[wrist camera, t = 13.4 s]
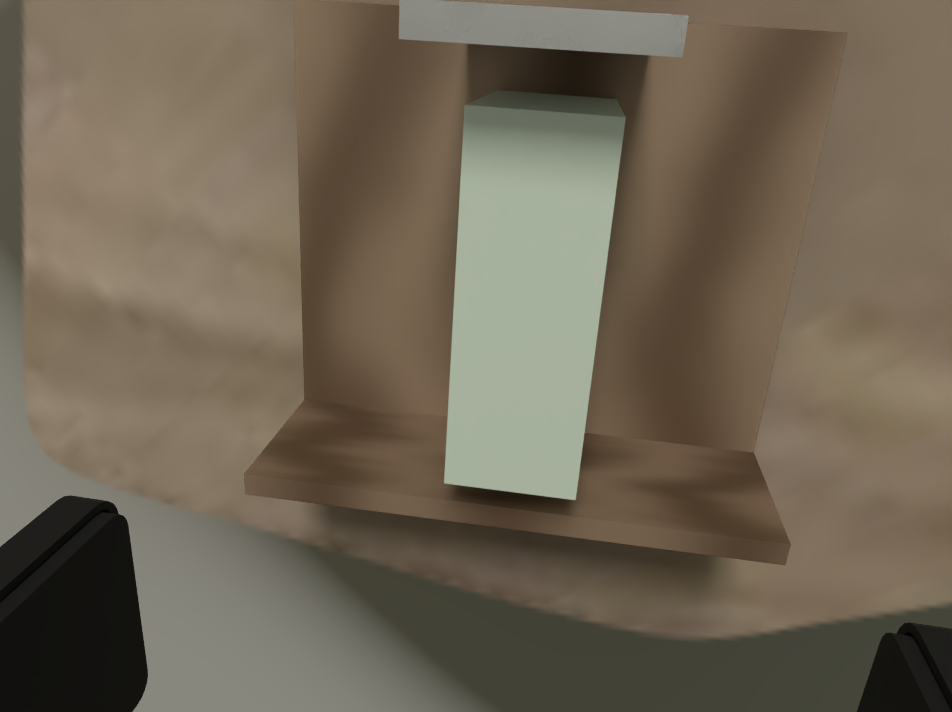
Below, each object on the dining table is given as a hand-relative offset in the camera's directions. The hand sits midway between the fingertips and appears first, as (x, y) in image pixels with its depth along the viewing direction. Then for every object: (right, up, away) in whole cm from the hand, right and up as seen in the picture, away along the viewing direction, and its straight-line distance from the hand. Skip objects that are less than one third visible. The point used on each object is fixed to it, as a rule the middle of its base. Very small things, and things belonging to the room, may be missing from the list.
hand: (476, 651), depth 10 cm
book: (+2, +7, +18) cm, 20 cm away
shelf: (+2, +8, +20) cm, 22 cm away
